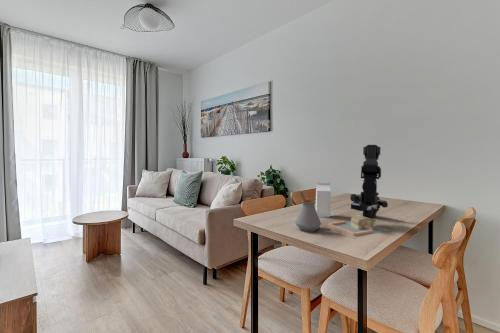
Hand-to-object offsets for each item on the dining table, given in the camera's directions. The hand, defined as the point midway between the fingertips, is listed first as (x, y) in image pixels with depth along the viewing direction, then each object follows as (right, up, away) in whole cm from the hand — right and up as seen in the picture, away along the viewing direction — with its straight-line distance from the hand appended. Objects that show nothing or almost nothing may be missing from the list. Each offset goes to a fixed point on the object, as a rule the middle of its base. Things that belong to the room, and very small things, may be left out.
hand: (368, 222), depth 116 cm
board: (-7, -2, -3) cm, 8 cm away
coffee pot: (-30, -2, +3) cm, 30 cm away
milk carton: (-16, -1, +19) cm, 25 cm away
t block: (-5, -1, -3) cm, 6 cm away
